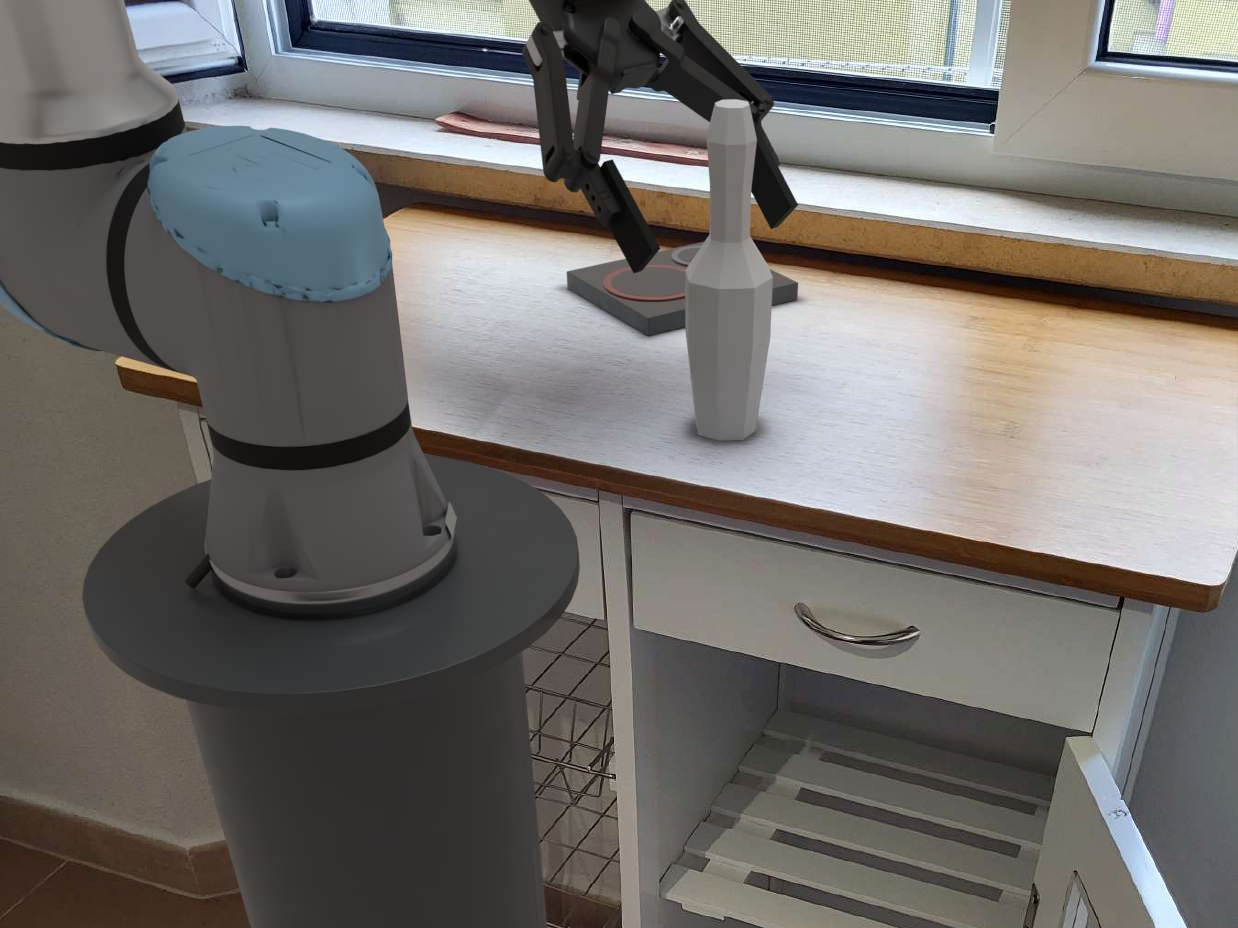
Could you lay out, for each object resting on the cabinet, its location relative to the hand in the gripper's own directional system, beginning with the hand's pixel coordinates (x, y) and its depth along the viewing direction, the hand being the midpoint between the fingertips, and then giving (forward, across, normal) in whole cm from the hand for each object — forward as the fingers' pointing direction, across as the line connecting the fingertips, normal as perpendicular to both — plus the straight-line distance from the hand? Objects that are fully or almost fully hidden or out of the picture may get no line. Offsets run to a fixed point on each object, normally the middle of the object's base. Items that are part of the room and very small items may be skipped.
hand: (718, 239), depth 99 cm
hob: (-6, -17, -25) cm, 31 cm away
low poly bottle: (+10, 0, -9) cm, 14 cm away
